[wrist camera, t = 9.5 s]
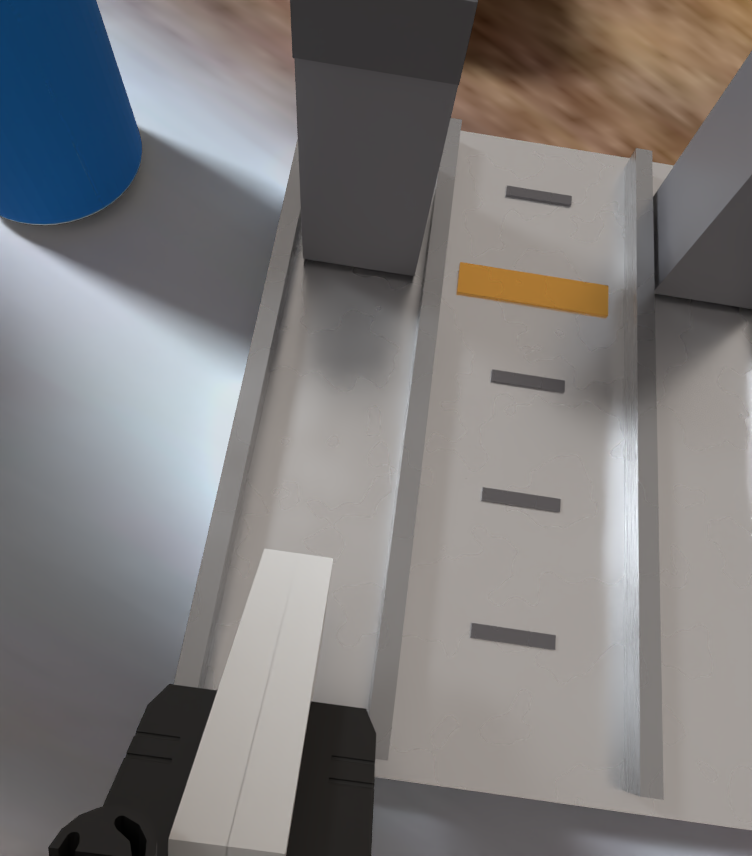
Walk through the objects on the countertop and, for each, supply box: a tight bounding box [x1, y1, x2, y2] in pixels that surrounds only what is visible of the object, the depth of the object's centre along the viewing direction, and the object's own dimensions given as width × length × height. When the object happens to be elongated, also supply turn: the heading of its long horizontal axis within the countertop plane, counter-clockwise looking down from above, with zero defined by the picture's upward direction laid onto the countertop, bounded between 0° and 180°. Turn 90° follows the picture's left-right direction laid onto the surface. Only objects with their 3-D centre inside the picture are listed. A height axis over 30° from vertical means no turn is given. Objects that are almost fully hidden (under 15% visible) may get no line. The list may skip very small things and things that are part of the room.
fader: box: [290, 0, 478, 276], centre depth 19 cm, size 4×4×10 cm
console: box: [174, 118, 752, 830], centre depth 22 cm, size 18×22×3 cm
